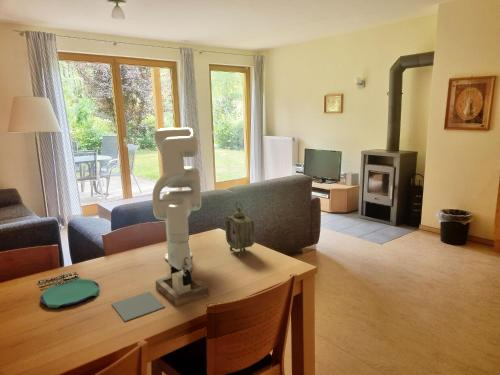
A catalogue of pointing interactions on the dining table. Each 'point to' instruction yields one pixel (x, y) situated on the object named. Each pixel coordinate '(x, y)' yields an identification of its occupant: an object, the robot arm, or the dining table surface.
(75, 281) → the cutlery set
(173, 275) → the cream block
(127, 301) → the rubber mat
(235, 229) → the grey lantern
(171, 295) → the pocket block
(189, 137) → the robot arm
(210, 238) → the dining table surface
